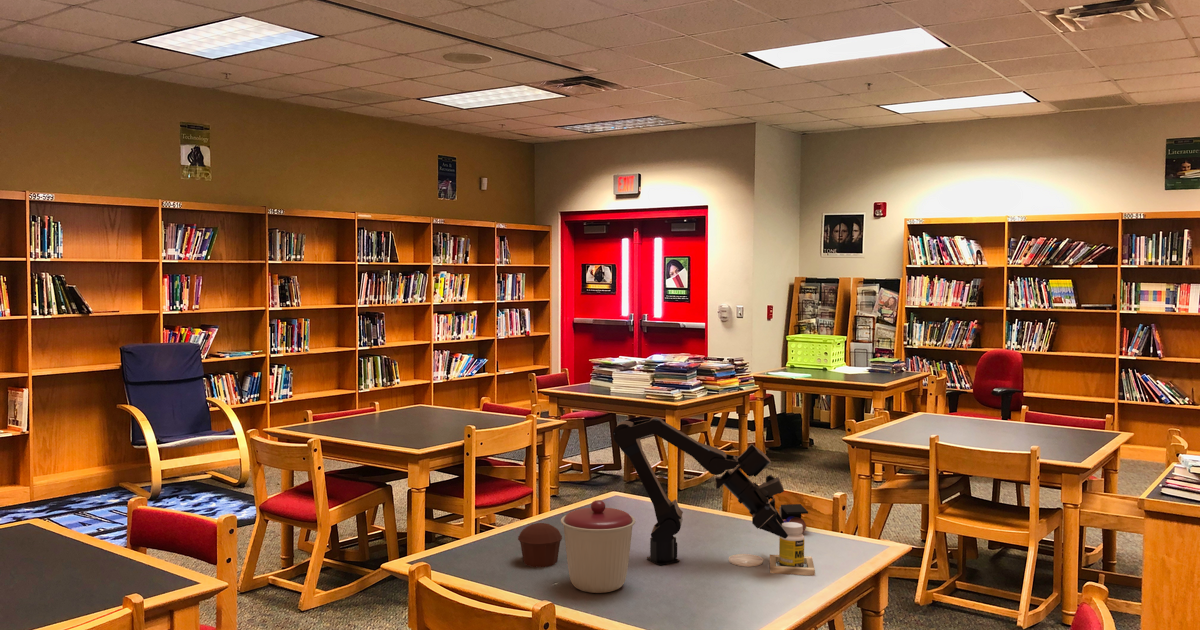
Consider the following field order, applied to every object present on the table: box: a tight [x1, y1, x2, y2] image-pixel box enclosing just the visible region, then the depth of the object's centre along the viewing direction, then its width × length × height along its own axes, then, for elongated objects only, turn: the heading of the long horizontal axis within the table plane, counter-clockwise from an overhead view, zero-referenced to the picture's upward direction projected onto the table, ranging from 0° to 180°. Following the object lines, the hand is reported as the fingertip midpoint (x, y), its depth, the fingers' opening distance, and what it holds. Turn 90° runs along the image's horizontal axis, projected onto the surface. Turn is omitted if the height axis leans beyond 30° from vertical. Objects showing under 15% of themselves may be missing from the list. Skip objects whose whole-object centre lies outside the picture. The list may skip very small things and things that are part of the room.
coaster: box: [728, 553, 764, 568], centre depth 241 cm, size 9×9×1 cm
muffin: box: [517, 522, 563, 568], centre depth 239 cm, size 12×11×10 cm
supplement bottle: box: [778, 522, 805, 567], centre depth 235 cm, size 6×6×11 cm
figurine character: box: [778, 503, 809, 533], centre depth 272 cm, size 7×8×15 cm
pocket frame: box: [769, 554, 816, 577], centre depth 236 cm, size 11×11×2 cm
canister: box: [560, 499, 636, 594], centre depth 220 cm, size 18×18×21 cm
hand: (786, 532), depth 235 cm, fingers open, 9 cm apart
